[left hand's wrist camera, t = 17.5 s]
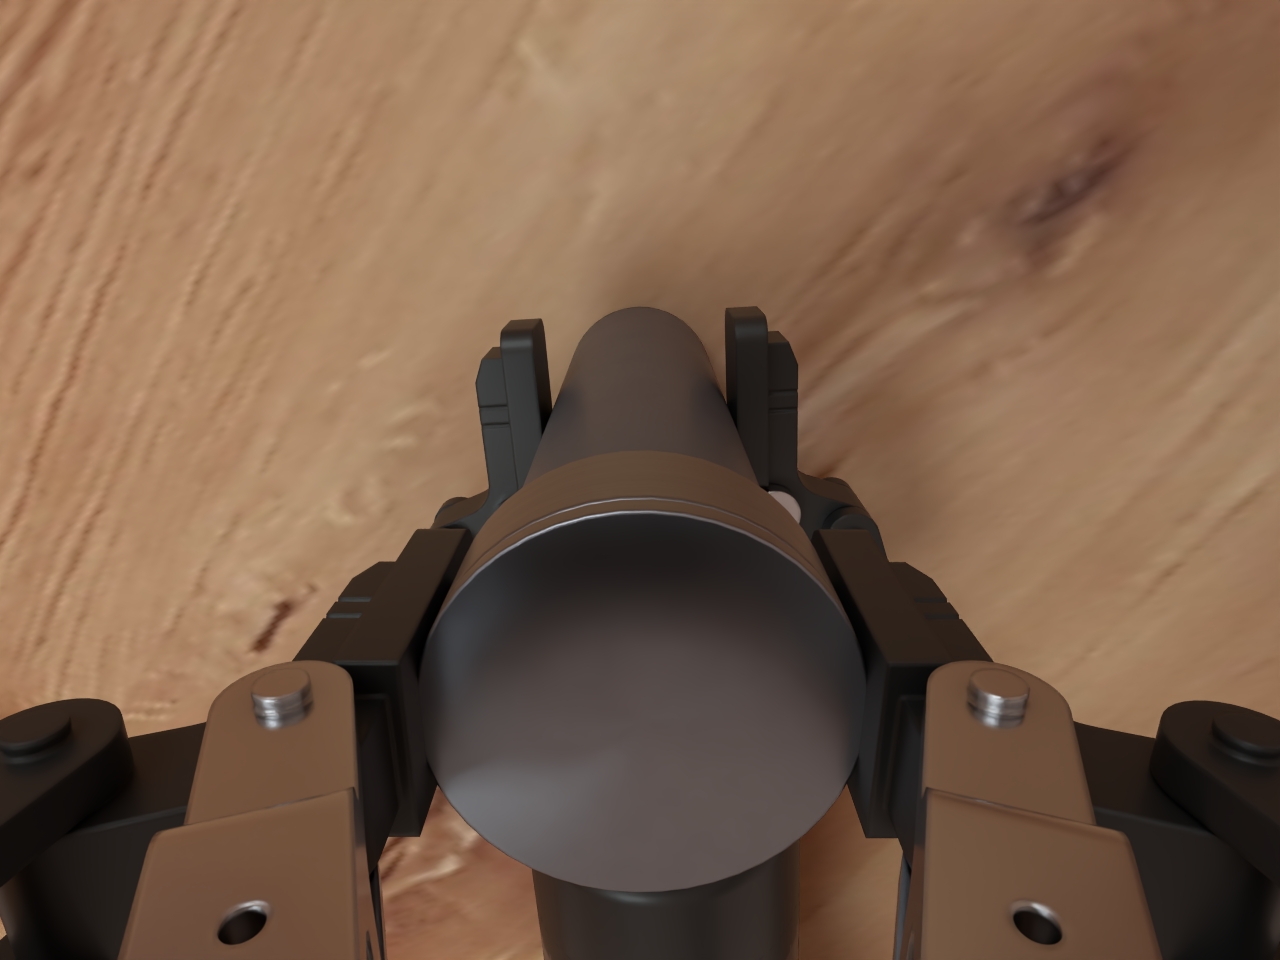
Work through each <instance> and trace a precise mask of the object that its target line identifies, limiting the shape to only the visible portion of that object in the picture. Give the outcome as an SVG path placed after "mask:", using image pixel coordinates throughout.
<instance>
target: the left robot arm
mask: <svg viewBox="0 0 1280 960" xmlns="http://www.w3.org/2000/svg"><path fill="white" fill-rule="evenodd" d="M472 542H473V537H472V534H471V531H470V530H469V529H417V530H416V531H415V533H414V534H413V536H412V537H411V539H410V540H409V542H408V543H407V545H406V546H405V548H404V550H403V551H402V553H401V554H400V556H399V557H398V559H397V560H396V562H378V563H376V564H375V565H373V566H372V567H370V568H368V569H367V570H365V571H364V572H362V573H360V574H359V575H357V576H355V577H354V578H352V580H351V581H350V582H349V584H348V585H347V587H346V588H345V589H344V591H343V592H342V593H341V595H340V596H339V598H338V602H335V603H334V604H333V606H332V607H331V609H330V610H329V611H328V613H327V614H326V615H327V616H326V618H323V619H322V621H321V622H320V624H319V625H318V626H317V628H316V629H315V630H314V632H313V633H312V635H311V636H310V637H309V639H308V640H307V641H306V643H305V644H304V645H303V647H302V648H301V650H300V651H299V652H298V654H297V655H296V656H295V658H294V659H293V661H292V662H286V663H281V664H276V665H272V666H269V667H266V668H263V669H260V670H257V671H255V672H252V673H250V674H248V675H246V676H244V677H242V678H240V679H239V680H237V681H235V682H234V683H232V684H231V685H229V686H228V687H227V688H225V689H224V690H223V691H222V692H221V693H220V694H219V695H218V696H217V697H216V699H215V700H214V702H213V703H212V705H211V707H210V710H209V714H208V718H207V722H204V723H200V724H196V725H192V726H187V727H182V728H177V729H171V730H166V731H161V732H156V733H151V734H145V735H140V736H135V737H130V738H128V736H127V732H126V728H125V724H124V721H123V717H122V714H121V712H120V710H119V709H118V708H117V707H116V706H115V705H114V704H112V703H110V702H107V701H103V700H100V699H90V698H82V699H68V700H61V701H56V702H51V703H47V704H43V705H39V706H35V707H32V708H29V709H26V710H23V711H20V712H18V713H16V714H13V715H11V716H8V717H6V718H4V719H2V720H0V917H1V920H2V923H3V925H4V928H5V931H6V934H7V935H5V936H4V937H3V938H2V939H1V940H0V960H387V948H386V935H385V922H384V909H383V896H382V883H381V876H380V869H379V862H378V861H379V859H380V856H381V854H382V851H383V849H384V846H385V844H386V841H387V838H388V837H420V835H421V832H422V829H423V826H424V823H425V820H426V817H427V814H428V811H429V808H430V805H431V802H432V799H433V796H434V793H435V790H436V787H437V783H436V781H435V779H434V777H433V775H432V772H431V770H430V768H429V766H428V764H427V757H426V750H425V741H424V732H423V723H422V714H421V705H420V696H419V687H418V666H419V660H420V657H421V654H422V652H423V649H424V646H425V643H426V640H427V637H428V634H429V632H430V630H431V628H432V626H433V624H434V622H435V620H436V617H437V615H438V613H439V611H440V609H441V607H442V604H443V602H444V600H445V598H446V596H447V594H448V592H449V589H450V587H451V585H452V583H453V581H454V579H455V577H456V575H457V572H458V570H459V568H460V566H461V564H462V562H463V560H464V558H465V556H466V554H467V552H468V550H469V548H470V546H471V544H472ZM811 543H812V545H813V547H814V548H815V550H816V552H817V554H818V556H819V558H820V560H821V563H822V565H823V567H824V569H825V571H826V573H827V575H828V577H829V579H830V581H831V583H832V585H833V587H834V589H835V592H836V594H837V596H838V598H839V600H840V602H841V604H842V606H843V608H844V611H845V612H846V614H847V616H848V618H849V620H850V623H851V625H852V627H853V629H854V632H855V634H856V637H857V639H858V642H859V644H860V647H861V649H862V652H863V657H864V661H865V665H866V670H867V686H866V696H865V705H864V714H863V722H862V731H861V740H860V749H859V756H858V761H857V763H856V766H855V768H854V771H853V773H852V775H851V777H850V779H849V780H848V782H847V785H848V788H849V791H850V794H851V796H852V799H853V802H854V805H855V808H856V811H857V814H858V817H859V820H860V823H861V825H862V828H863V831H864V834H865V837H866V838H898V839H899V842H900V845H901V847H902V850H903V855H902V862H901V869H900V876H899V883H898V896H897V909H896V922H895V935H894V948H893V960H1280V721H1279V720H1277V719H1275V718H1272V717H1270V716H1267V715H1265V714H1262V713H1260V712H1257V711H1254V710H1251V709H1247V708H1244V707H1240V706H1236V705H1232V704H1227V703H1221V702H1213V701H1185V702H1180V703H1177V704H1174V705H1172V706H1170V707H1168V708H1167V709H1166V710H1165V711H1164V712H1163V714H1162V717H1161V720H1160V724H1159V727H1158V731H1157V735H1156V739H1155V738H1150V737H1145V736H1140V735H1135V734H1129V733H1124V732H1119V731H1114V730H1109V729H1104V728H1098V727H1094V726H1090V725H1085V724H1081V723H1078V722H1075V721H1073V718H1072V713H1071V710H1070V707H1069V705H1068V703H1067V702H1066V700H1065V699H1064V697H1063V696H1062V695H1061V694H1060V693H1059V692H1058V691H1057V690H1056V689H1055V688H1053V687H1052V686H1051V685H1049V684H1048V683H1046V682H1045V681H1043V680H1041V679H1040V678H1038V677H1036V676H1034V675H1032V674H1030V673H1028V672H1025V671H1023V670H1020V669H1017V668H1014V667H1011V666H1008V665H1004V664H999V663H994V662H993V660H992V659H991V658H990V656H989V655H988V654H987V652H986V651H985V649H984V648H983V647H982V645H981V644H980V643H979V641H978V640H977V639H976V637H975V636H974V635H973V633H972V632H971V631H970V629H969V628H968V627H967V625H966V624H965V622H964V621H963V620H962V619H959V614H958V613H957V612H956V610H955V609H954V608H953V606H952V605H951V604H950V603H947V598H946V597H945V595H944V594H943V593H942V591H941V590H940V589H939V587H938V586H937V585H936V583H935V582H934V581H933V579H931V578H930V577H928V576H927V575H925V574H923V573H922V572H920V571H919V570H917V569H915V568H914V567H912V566H910V565H909V564H907V563H906V562H889V561H888V560H887V558H886V557H885V555H884V554H883V552H882V550H881V549H880V547H879V546H878V544H877V543H876V541H875V540H874V538H873V537H872V535H871V534H870V532H869V531H868V530H832V529H817V530H815V531H814V532H813V535H812V539H811Z"/></svg>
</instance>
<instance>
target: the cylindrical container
mask: <svg viewBox="0 0 1280 960" xmlns="http://www.w3.org/2000/svg"><path fill="white" fill-rule="evenodd" d="M647 450H651V451H661V452H671V453H678V454H683V455H687V456H691V457H696V458H700V459H704V460H707V461H709V462H712V463H715V464H717V465H720V466H723V467H726V468H728V469H730V470H732V471H734V472H736V473H738V474H739V475H741V476H743V477H745V478H747V479H749V480H751V481H752V482H754V483H755V484H756V485H758V486H759V484H758V482H757V479H756V477H755V474H754V472H753V469H752V467H751V464H750V462H749V459H748V457H747V454H746V452H745V449H744V447H743V444H742V442H741V439H740V437H739V434H738V432H737V429H736V427H735V424H734V421H733V419H732V416H731V414H730V411H729V409H728V406H727V404H726V401H725V399H724V396H723V394H722V391H721V389H720V386H719V384H718V381H717V379H716V376H715V374H714V371H713V369H712V366H711V364H710V361H709V359H708V356H707V354H706V351H705V349H704V347H703V345H702V343H701V341H700V339H699V338H698V336H697V335H696V334H695V333H694V331H693V330H692V329H691V328H690V327H689V326H688V325H687V324H686V323H684V322H683V321H682V320H680V319H679V318H677V317H676V316H674V315H672V314H670V313H668V312H665V311H662V310H659V309H654V308H649V307H633V308H627V309H622V310H619V311H616V312H613V313H611V314H609V315H607V316H605V317H603V318H602V319H601V320H599V321H598V322H596V323H595V324H594V325H593V326H592V327H591V328H590V329H589V330H588V331H587V332H586V333H585V335H584V336H583V338H582V339H581V341H580V342H579V344H578V346H577V348H576V351H575V353H574V356H573V358H572V361H571V363H570V366H569V369H568V371H567V374H566V376H565V379H564V382H563V384H562V387H561V389H560V392H559V395H558V397H557V400H556V402H555V405H554V408H553V410H552V413H551V415H550V418H549V420H548V423H547V426H546V428H545V431H544V433H543V436H542V439H541V441H540V444H539V446H538V449H537V452H536V454H535V457H534V459H533V462H532V465H531V467H530V470H529V472H528V475H527V478H526V480H525V483H524V485H523V487H524V486H525V485H527V484H529V483H530V482H532V481H534V480H535V479H537V478H539V477H540V476H542V475H544V474H545V473H547V472H550V471H552V470H554V469H557V468H559V467H561V466H564V465H566V464H568V463H571V462H574V461H577V460H581V459H584V458H588V457H592V456H595V455H601V454H607V453H614V452H620V451H647Z"/></svg>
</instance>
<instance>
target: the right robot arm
mask: <svg viewBox="0 0 1280 960" xmlns="http://www.w3.org/2000/svg"><path fill="white" fill-rule="evenodd" d="M725 348H726V393H727V406H728V409H729V411H730V414H731V416H732V419H733V421H734V424H735V427H736V429H737V432H738V434H739V437H740V439H741V442H742V444H743V447H744V449H745V452H746V454H747V457H748V459H749V462H750V464H751V467H752V469H753V472H754V474H755V477H756V479H757V482H758V484H759V487H761V488H762V489H763V490H765V491H766V492H768V493H769V494H771V495H772V496H773V497H774V498H775V499H776V500H777V501H778V502H779V503H780V504H781V505H782V506H783V507H784V508H786V509H787V510H788V511H789V513H790V514H791V515H792V516H793V517H794V519H795V520H796V521H797V522H798V524H799V525H800V526H801V527H802V529H803V530H804V532H805V533H806V535H807V537H808V538H809V540H810V542H811V539H812V535H813V532H814V531H815V530H817V529H832V530H868V531H869V532H870V534H871V535H872V537H873V538H874V540H875V541H876V543H877V544H878V546H879V547H880V549H881V550H882V552H883V554H884V555H885V557H886V558H887V556H886V553H885V549H884V546H883V542H882V539H881V536H880V532H879V529H878V527H877V525H876V523H875V522H874V521H873V519H872V518H871V516H870V515H869V513H868V512H867V510H866V509H865V508H864V506H863V505H862V503H861V502H860V500H859V499H858V498H857V496H856V495H855V493H854V492H853V490H852V489H851V488H850V486H849V485H848V484H847V483H846V482H845V481H843V480H841V479H839V478H833V477H830V478H824V479H819V478H816V477H812V476H809V475H806V474H803V473H801V472H800V471H798V470H797V425H798V411H797V407H798V392H797V389H798V363H797V361H796V358H795V356H794V354H793V351H792V349H791V346H790V344H789V342H788V341H787V340H786V339H785V338H784V337H783V335H782V334H781V333H780V332H779V331H770V332H768V328H767V320H766V316H765V314H764V313H763V312H762V311H761V310H760V309H759V308H758V307H757V306H753V307H736V308H726V311H725ZM475 384H476V391H477V398H478V406H479V413H480V421H481V425H482V436H483V443H484V451H485V458H486V466H487V473H488V481H489V489H487V490H486V491H484V492H482V493H480V494H477V495H475V496H473V497H470V498H465V497H455V498H452V499H449V500H448V501H446V502H445V503H444V504H443V505H442V506H441V508H440V510H439V511H438V513H437V515H436V517H435V520H434V523H433V525H432V526H431V528H430V529H469V530H470V531H471V534H472V537H473V540H474V538H475V537H476V535H477V534H478V533H479V531H480V530H481V528H482V527H483V526H484V524H485V523H486V521H487V520H488V519H489V518H490V517H491V516H492V514H493V513H494V512H495V511H496V510H497V509H498V508H499V507H500V506H501V505H502V504H503V503H504V502H505V501H506V500H507V499H509V498H510V497H511V496H512V495H514V494H515V493H516V492H517V491H519V490H520V489H521V488H523V485H524V483H525V480H526V478H527V475H528V472H529V470H530V467H531V465H532V462H533V459H534V457H535V454H536V452H537V449H538V446H539V444H540V441H541V439H542V436H543V433H544V431H545V428H546V426H547V423H548V420H549V418H550V415H551V413H552V401H551V391H550V381H549V371H548V361H547V351H546V341H545V332H544V326H543V322H542V319H524V320H511V321H510V322H509V323H508V324H507V325H506V326H505V327H504V328H503V329H502V331H501V337H500V347H493V348H492V349H491V350H490V351H489V352H488V353H487V354H486V355H485V356H484V358H483V359H482V360H481V364H480V368H479V371H478V375H477V379H476V383H475ZM887 560H888V559H887ZM799 866H800V839H798V840H797V841H796V842H794V843H793V844H792V845H791V846H789V847H788V848H787V849H785V850H784V851H782V852H780V853H779V854H777V855H775V856H774V857H772V858H770V859H769V860H767V861H765V862H764V863H762V864H760V865H758V866H755V867H753V868H751V869H749V870H747V871H745V872H742V873H740V874H738V875H735V876H732V877H729V878H726V879H723V880H720V881H717V882H714V883H710V884H705V885H701V886H696V887H692V888H688V889H679V890H671V891H663V892H624V891H611V890H603V889H598V888H592V887H587V886H581V885H578V884H574V883H571V882H567V881H564V880H560V879H557V878H554V877H551V876H549V875H546V874H544V873H542V872H539V871H537V870H534V869H532V874H533V881H534V888H535V896H536V903H537V910H538V917H539V924H540V931H541V939H542V947H543V954H544V960H799Z"/></svg>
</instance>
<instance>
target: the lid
mask: <svg viewBox="0 0 1280 960" xmlns="http://www.w3.org/2000/svg"><path fill="white" fill-rule="evenodd" d="M866 686H867V670H866V665H865V661H864V657H863V652H862V649H861V647H860V644H859V642H858V639H857V637H856V634H855V632H854V629H853V627H852V625H851V623H850V620H849V618H848V616H847V614H846V612H845V611H844V608H843V606H842V604H841V602H840V600H839V598H838V596H837V594H836V592H835V589H834V587H833V585H832V583H831V581H830V579H829V577H828V575H827V573H826V571H825V569H824V567H823V565H822V563H821V560H820V558H819V556H818V554H817V552H816V550H815V548H814V547H813V545H812V543H811V542H810V540H809V538H808V537H807V535H806V533H805V532H804V530H803V529H802V527H801V526H800V525H799V524H798V522H797V521H796V520H795V519H794V517H793V516H792V515H791V514H790V513H789V511H788V510H787V509H786V508H784V507H783V506H782V505H781V504H780V503H779V502H778V501H777V500H776V499H775V498H774V497H773V496H772V495H771V494H769V493H768V492H766V491H765V490H763V489H762V488H761V487H759V486H758V485H756V484H755V483H754V482H752V481H751V480H749V479H747V478H745V477H743V476H741V475H739V474H738V473H736V472H734V471H732V470H730V469H728V468H726V467H723V466H720V465H717V464H715V463H712V462H709V461H707V460H704V459H700V458H696V457H691V456H687V455H683V454H678V453H671V452H661V451H651V450H647V451H620V452H614V453H607V454H601V455H595V456H592V457H588V458H584V459H581V460H577V461H574V462H571V463H568V464H566V465H564V466H561V467H559V468H557V469H554V470H552V471H550V472H547V473H545V474H544V475H542V476H540V477H539V478H537V479H535V480H534V481H532V482H530V483H529V484H527V485H525V486H524V487H523V488H521V489H520V490H519V491H517V492H516V493H515V494H514V495H512V496H511V497H510V498H509V499H507V500H506V501H505V502H504V503H503V504H502V505H501V506H500V507H499V508H498V509H497V510H496V511H495V512H494V513H493V514H492V516H491V517H490V518H489V519H488V520H487V521H486V523H485V524H484V526H483V527H482V528H481V530H480V531H479V533H478V534H477V535H476V537H475V538H474V540H473V542H472V544H471V546H470V548H469V550H468V552H467V554H466V556H465V558H464V560H463V562H462V564H461V566H460V568H459V570H458V572H457V575H456V577H455V579H454V581H453V583H452V585H451V587H450V589H449V592H448V594H447V596H446V598H445V600H444V602H443V604H442V607H441V609H440V611H439V613H438V615H437V617H436V620H435V622H434V624H433V626H432V628H431V630H430V632H429V634H428V637H427V640H426V643H425V646H424V649H423V652H422V654H421V657H420V660H419V666H418V687H419V696H420V705H421V714H422V723H423V732H424V741H425V750H426V757H427V764H428V766H429V768H430V770H431V772H432V775H433V777H434V779H435V781H436V783H437V785H438V786H439V788H440V789H441V791H442V792H443V794H444V795H445V797H446V798H447V800H448V801H449V803H450V804H451V806H452V807H453V808H454V809H455V810H456V811H457V812H458V814H459V815H460V816H461V817H462V818H463V819H464V821H465V822H466V823H467V824H468V825H469V826H470V827H472V828H473V829H474V830H475V831H476V832H477V833H478V834H479V835H480V836H482V837H483V838H484V839H485V840H486V841H487V842H489V843H490V844H492V845H493V846H495V847H496V848H497V849H499V850H500V851H502V852H503V853H505V854H506V855H507V856H509V857H511V858H513V859H515V860H517V861H519V862H520V863H522V864H524V865H526V866H528V867H530V868H532V869H534V870H537V871H539V872H542V873H544V874H546V875H549V876H551V877H554V878H557V879H560V880H564V881H567V882H571V883H574V884H578V885H581V886H587V887H592V888H598V889H603V890H611V891H624V892H663V891H671V890H679V889H688V888H692V887H696V886H701V885H705V884H710V883H714V882H717V881H720V880H723V879H726V878H729V877H732V876H735V875H738V874H740V873H742V872H745V871H747V870H749V869H751V868H753V867H755V866H758V865H760V864H762V863H764V862H765V861H767V860H769V859H770V858H772V857H774V856H775V855H777V854H779V853H780V852H782V851H784V850H785V849H787V848H788V847H789V846H791V845H792V844H793V843H794V842H796V841H797V840H798V839H800V838H801V837H802V836H803V835H805V834H806V833H807V832H808V831H809V830H810V829H811V828H812V827H813V826H814V825H815V824H816V823H817V822H818V821H819V820H820V819H821V818H822V817H823V816H824V815H825V814H826V812H827V811H828V810H829V809H830V807H831V806H832V805H833V803H834V802H835V801H836V800H837V798H838V797H839V796H840V794H841V792H842V791H843V789H844V787H845V785H846V784H847V782H848V780H849V779H850V777H851V775H852V773H853V771H854V768H855V766H856V763H857V761H858V756H859V749H860V740H861V731H862V722H863V714H864V705H865V696H866Z"/></svg>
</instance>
